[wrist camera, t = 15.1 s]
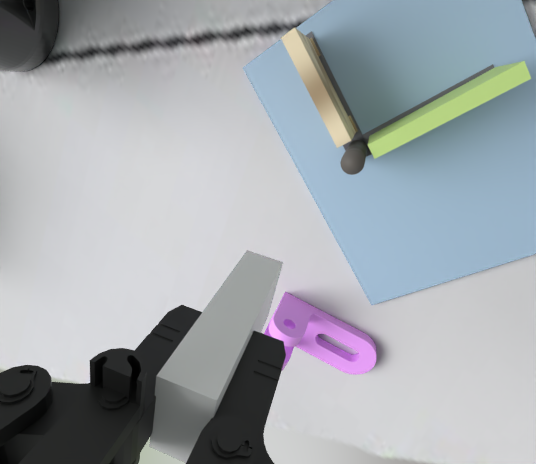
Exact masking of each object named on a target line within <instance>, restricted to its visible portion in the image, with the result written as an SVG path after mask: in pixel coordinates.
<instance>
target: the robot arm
mask: <svg viewBox="0 0 536 464" xmlns="http://www.w3.org/2000/svg"><path fill="white" fill-rule="evenodd" d="M58 17H59V11H58V0H0V71H15V72H23V71H28V70H31V69H33V68H35V67H37V66H38V65H40V64H41V63H42V62H43V61H44V60H45V59H46V57H47V56H48V54H49V53H50V51H51V49H52V47H53V44H54V42H55V38H56V34H57V29H58ZM282 264H283V262H280V261H277V260H274V259H271V258H268V257H265V256H262V255H259V254H256V253H253V252H250V251H246V253H245V254H244V255H243V257H242V258H241V260H240V261H239V262H238V264H237V265H236V267H235V268H234V269H233V271H232V272H231V273H230V275H229V276H228V278H227V279H226V280H225V282H224V283H223V285H222V286H221V287H220V289H219V290H218V291H217V293H216V294H215V296H214V297H213V298H212V300H211V301H210V303H209V304H208V305H207V307H206V308H205V309H204V311H203V312H200V311H197V310H194V309H192V308H189V307H186V306H184V305H181V306H179V307H177V308H175V309H173V310H171V311H169V312H168V313H167V314H166V315H165V316H164V317H163V319H162V320H161V321H160V322H159V324H158V325H156V327H155V328H154V329H153V330H152V331H151V333H150V334H149V335H148V336H147V337H146V338H145V339H144V340H143V342H142V343H141V344H140V345H139V346H138V347H137V348H136V350H135V351H134V350H129V349H124V348H119V349H110V350H107V351H105V352H102V353H99V354H98V355H97V356H95V357H94V358H93V359H91V360H90V383H88V384H73V383H60V382H59V383H58V382H51V376H50V375H49V373H48V372H47V370H45V369H43V368H41V367H39V366H32V365H24V366H18V367H13V368H11V369H8V370H6V371H4V372H1V373H0V464H138V463H139V459H140V452H141V450H142V449H143V447H144V445H145V444H146V442H147V441H148V439H149V437H150V445H149V447H151V448H153V449H155V450H158V451H160V452H162V453H164V454H167V455H169V456H171V457H173V458H176V459H178V460H180V461H182V462H185V463H186V464H274V463H273V462H272V460H271V458H270V457H269V455H268V453H267V451H266V448H265V445H264V438H263V433H264V427H265V423H266V420H267V417H268V413H269V410H270V407H271V403H272V400H273V397H274V393H275V390H276V387H277V384H278V380H279V377H280V374H281V370H282V367H283V364H284V360H285V357H286V352H285V347H284V342H283V341H281V340H278V339H276V338H273V337H270V336H268V335H265V334H262V333H261V331H262V328H263V326H264V324H265V322H266V319H267V317H268V314H269V310H270V307H271V303H272V300H273V296H274V293H275V289H276V285H277V282H278V278H279V275H280V271H281V268H282Z"/></svg>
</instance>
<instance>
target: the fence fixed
mask: <svg viewBox="0 0 536 464" xmlns="http://www.w3.org/2000/svg"><path fill="white" fill-rule="evenodd" d="M281 40H282V41H283V43H284V45H285V47H286V49H287V51H288V53H289V55H290V57H291V59H292V61H293V63H294V65H295V67H296V69H297V71H298V73H299V75H300V77H301V79H302V81H303V82H304V84H305V86H306V88H307V90H308V92H309V94H310V96H311V98H312V100H313V102H314V104H315V106H316V108H317V110H318V112H319V114H320V116H321V118H322V120H323V122H324V123H325V125H326V127H327V129H328V131H329V133H330V135H331V137H332V139H333V141H334V143H335V145H336V147H337V148H338V147H340V146H342V145H344V144H346V143H348V142H350V141H351V140H352V139H353V137H354V135H355V133H356V132H358V130H357V128H356V126H355V124H354V122H353V120H352V118H351V116H348V115H347V113H346V111H345V109H344V107H343V105H342V103H341V101H340V99H339V97H338V95H337V93H336V91H335V89H334V87H333V85H332V83H331V81H330V79H329V77H328V75H327V73H326V71H325V69H324V67H323V65H322V63H321V61H320V59H319V56H320V53H319V51H318V49H317V47H316V45H315V43H314V41H313V39H312V38H310V39H309V38H308V37H306V36H305V35H304V34H303V33H301V32H300V31H299V30H297V29H296V28H293V29H292V30H291V31H289V32H288V33H287V34H285V35H284V36H283V37H281ZM366 154H367V145H366V144H365V142H363V141H361V140H354V141H352V142H351V143H350V144H349V146H348V148H347V149H346V151H345V153H344V155H343V157H342V159H341V162H340V164H341V168H342V170H343V171H344V172H345V173H347V174H350V175H354V174H358V173H359V172H361V171H362V169H363V168H364V164H365V159H366Z"/></svg>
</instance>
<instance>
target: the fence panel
mask: <svg viewBox="0 0 536 464" xmlns="http://www.w3.org/2000/svg"><path fill="white" fill-rule="evenodd" d="M530 79H531V76H530V74H529V71H528V69H527V66H526V64H525V61H522V62H517V63H512V64H508V65H503V66H498V67H495V68H493V69H491V70H489V71H487V72H486V73H484V74H482V75H480V76H478V77H477V78H475V79H473V80H471V81H469V82H467V83H466V84H464V85H462V86H460V87H458V88H456V89H455V90H453V91H451V92H449V93H447V94H445V95H444V96H442V97H440V98H438V99H436V100H434V101H433V102H431V103H429V104H427V105H425V106H424V107H422V108H420V109H418V110H416V111H414V112H413V113H411V114H409V115H407V116H405V117H403V118H402V119H400V120H398V121H396V122H394V123H392V124H391V125H389V126H387V127H385V128H383V129H381V130H380V131H378V132H376V133H374V134H372V135H370V136H369V140H368V147H369V149H370V151H371V153H372V155H373V157H374V159H376V158H378V157H380V156H382V155H384V154H386V153H387V152H389V151H391V150H393V149H395V148H397V147H399V146H401V145H403V144H405V143H407V142H409V141H411V140H413V139H415V138H417V137H419V136H421V135H423V134H424V133H426V132H428V131H430V130H432V129H434V128H436V127H438V126H440V125H442V124H444V123H446V122H448V121H450V120H452V119H454V118H456V117H458V116H460V115H461V114H463V113H465V112H467V111H469V110H471V109H473V108H475V107H477V106H479V105H481V104H483V103H485V102H487V101H489V100H491V99H493V98H495V97H497V96H498V95H500V94H502V93H504V92H506V91H508V90H510V89H512V88H514V87H516V86H518V85H520V84H522V83H524V82H526V81H528V80H530Z"/></svg>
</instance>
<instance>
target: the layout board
mask: <svg viewBox="0 0 536 464" xmlns="http://www.w3.org/2000/svg"><path fill="white" fill-rule="evenodd" d="M296 29H297V30H299V31H300V32H301V33H303V34H304V35H305V36H306V37H308V38H309V39H310V38H312V39H313V41H314V43H315V45H316V47H317V49H318V51H319V53H320V56H319V59H320V61H321V63H322V65H323V67H324V69H325V71H326V73H327V75H328V77H329V79H330V81H331V83H332V85H333V87H334V89H335V91H336V93H337V95H338V97H339V99H340V101H341V103H342V105H343V107H344V109H345V111H346V113H347V115H348V116H351V118H352V120H353V122H354V124H355V126H356V128H357V130H358V132H356V133H355V135H354V137H353V139H352V140H351V141H350V142H348V143H346V144H344V145H342V146H340V147H338V148H337V147H336V145H335V143H334V141H333V139H332V137H331V135H330V133H329V131H328V129H327V127H326V125H325V123H324V122H323V120H322V118H321V116H320V114H319V112H318V110H317V108H316V106H315V104H314V102H313V100H312V98H311V96H310V94H309V92H308V90H307V88H306V86H305V84H304V82H303V81H302V79H301V77H300V75H299V73H298V71H297V69H296V67H295V65H294V63H293V61H292V59H291V57H290V55H289V53H288V51H287V49H286V47H285V45H284V43H283V41H282V40H279V41H278V42H276V43H275V44H274V45H272V46H271V47H270V48H268V49H267V50H266V51H264V52H263V53H262V54H260V55H259V56H258V57H256V58H255V59H254V60H252V61H251V62H250V63H248V64H247V65H246V66H244V67H243V69H244V71H245V73H246V75H247V77H248V79H249V81H250V82H251V84H252V86H253V88H254V90H255V92H256V93H257V95H258V97H259V99H260V101H261V103H262V104H263V106H264V108H265V110H266V112H267V114H268V116H269V117H270V119H271V121H272V123H273V125H274V127H275V128H276V130H277V132H278V134H279V136H280V138H281V139H282V141H283V143H284V145H285V147H286V149H287V150H288V152H289V154H290V156H291V158H292V160H293V162H294V163H295V165H296V167H297V169H298V171H299V173H300V174H301V176H302V178H303V180H304V182H305V184H306V185H307V187H308V189H309V191H310V193H311V195H312V196H313V198H314V200H315V202H316V204H317V206H318V208H319V209H320V211H321V213H322V215H323V217H324V219H325V220H326V222H327V224H328V226H329V228H330V230H331V231H332V233H333V235H334V237H335V239H336V241H337V243H338V244H339V246H340V248H341V250H342V252H343V254H344V255H345V257H346V259H347V261H348V263H349V265H350V266H351V268H352V270H353V272H354V274H355V276H356V277H357V279H358V281H359V283H360V285H361V287H362V289H363V290H364V292H365V294H366V296H367V298H368V300H369V301H370V303H371V305H374V304H377V303H380V302H384V301H387V300H390V299H393V298H396V297H400V296H403V295H406V294H409V293H412V292H416V291H419V290H422V289H425V288H428V287H432V286H435V285H438V284H441V283H444V282H448V281H451V280H454V279H457V278H460V277H464V276H467V275H470V274H473V273H476V272H479V271H483V270H486V269H489V268H492V267H495V266H499V265H502V264H505V263H508V262H511V261H515V260H518V259H521V258H524V257H527V256H531V255H534V254H536V39H535V36H534V33H533V30H532V28H531V25H530V22H529V19H528V17H527V14H526V11H525V9H524V6H523V3H522V0H333V1H331V2H330V3H329V4H327V5H326V6H325V7H323V8H322V9H321V10H319V11H318V12H317V13H315V14H314V15H313V16H311V17H310V18H309V19H307V20H306V21H305V22H303V23H302V24H301V25H299V26H298V27H297V28H296ZM522 61H525V64H526V66H527V69H528V71H529V74H530V76H531V79H530V80H528V81H526V82H524V83H522V84H520V85H518V86H516V87H514V88H512V89H510V90H508V91H506V92H504V93H502V94H500V95H498V96H497V97H495V98H493V99H491V100H489V101H487V102H485V103H483V104H481V105H479V106H477V107H475V108H473V109H471V110H469V111H467V112H465V113H463V114H461V115H460V116H458V117H456V118H454V119H452V120H450V121H448V122H446V123H444V124H442V125H440V126H438V127H436V128H434V129H432V130H430V131H428V132H426V133H424V134H423V135H421V136H419V137H417V138H415V139H413V140H411V141H409V142H407V143H405V144H403V145H401V146H399V147H397V148H395V149H393V150H391V151H389V152H387V153H386V154H384V155H382V156H380V157H378V158H376V159H374V157H373V155H372V153H371V151H370V149H369V147H368V140H369V136H370V135H372V134H374V133H376V132H378V131H380V130H381V129H383V128H385V127H387V126H389V125H391V124H392V123H394V122H396V121H398V120H400V119H402V118H403V117H405V116H407V115H409V114H411V113H413V112H414V111H416V110H418V109H420V108H422V107H424V106H425V105H427V104H429V103H431V102H433V101H434V100H436V99H438V98H440V97H442V96H444V95H445V94H447V93H449V92H451V91H453V90H455V89H456V88H458V87H460V86H462V85H464V84H466V83H467V82H469V81H471V80H473V79H475V78H477V77H478V76H480V75H482V74H484V73H486V72H487V71H489V70H491V69H493V68H495V67H498V66H503V65H508V64H512V63H517V62H522ZM354 140H361V141H363V142H365V144H366V145H367V154H366V159H365V164H364V168H363V169H362V171H361V172H359V173H358V174H354V175H350V174H347V173H345V172H344V171H343V170H342V168H341V164H340V162H341V159H342V157H343V155H344V153H345V151H346V149H347V148H348V146H349V144H350V143H351V142H352V141H354Z"/></svg>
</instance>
